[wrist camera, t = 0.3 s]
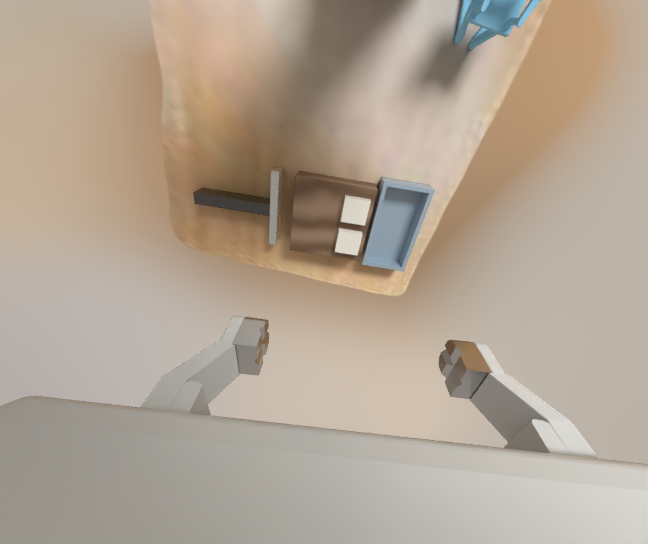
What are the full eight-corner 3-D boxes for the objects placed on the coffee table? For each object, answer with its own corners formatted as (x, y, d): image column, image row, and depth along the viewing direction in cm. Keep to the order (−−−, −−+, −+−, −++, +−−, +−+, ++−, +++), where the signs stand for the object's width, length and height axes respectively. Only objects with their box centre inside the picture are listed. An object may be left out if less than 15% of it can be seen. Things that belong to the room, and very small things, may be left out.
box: (381, 177, 52) (384, 181, 48) (428, 184, 52) (434, 189, 48) (360, 256, 62) (362, 264, 58) (400, 262, 62) (403, 271, 59)
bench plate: (299, 171, 52) (295, 176, 48) (374, 183, 52) (377, 189, 48) (293, 240, 61) (289, 249, 56) (358, 250, 61) (359, 260, 57)
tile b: (338, 228, 53) (338, 230, 52) (362, 231, 53) (362, 234, 52) (334, 248, 56) (334, 251, 54) (357, 252, 56) (357, 255, 54)
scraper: (206, 226, 60) (198, 232, 57) (198, 154, 51) (188, 156, 48) (279, 237, 61) (275, 245, 57) (283, 168, 52) (279, 172, 49)
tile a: (345, 195, 49) (345, 197, 48) (370, 199, 49) (370, 201, 48) (340, 219, 52) (340, 221, 50) (364, 222, 52) (364, 225, 51)
